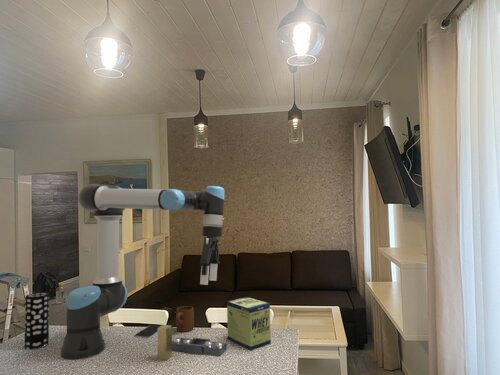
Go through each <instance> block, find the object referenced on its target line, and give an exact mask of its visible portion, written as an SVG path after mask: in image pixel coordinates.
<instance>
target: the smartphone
mask: <svg viewBox="0 0 500 375" xmlns="http://www.w3.org/2000/svg"><path fill="white" fill-rule="evenodd" d="M162 325H163V324H156V323H155V324H154V323H152V324H150V325H148V326H147V327H144V328H143V329H142V330H140V331H137V333H135V334H133V338H139V337H141V339H150V338H152V337H153V336H155V335H156V334H157V335H158V331H157V328H158V327H160V326H162Z"/></svg>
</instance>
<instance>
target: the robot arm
mask: <svg viewBox="0 0 500 375" xmlns="http://www.w3.org/2000/svg"><path fill="white" fill-rule="evenodd" d="M77 200H78V203H79V204H80V207H81V208H82V209H84V210H85V211H87V212H91V213H93V217H94V218H95V219H96V221H97V243H96V244H97V246H96V248H97V249H96V250H97V251H96V252H97V253H96V256H97V257H96V277H95V279H94V280H93V281H92V285H86V286H83V287H78V288H76V289H72V290H71V291H70V292H69V293H68V295H67V298H66V304H65V305H66V334H65V337H64V341H63V345H62V346H61V350H60V357H61V358H63V359H65V360H66V359H67V360H80V359H85V358H91V357H94V356H96V355H98V354H101V353H102V352H103V351H104V350H105V348H106V342H105V341H106V340H105V339H104V337H103V333H102V330H101V317H104V316H106V315H109V314H110V313H114V312H116V311H118V310H119V309H121V308H122V307H123V306H124V305H125V304H126V302H127V300H128V295H129V294H128V288H127V287H126V285H125V284H124V283H123V278H122V277H121V276H120V275H119V272H120V271H119V268H120V267H119V266H120V262H119V260H120V256H119V255H120V219H122V218H123V217H124V211H125V209H128V210H129V209H135V210H139V209H140V210H161V211H162V210H164V211H173V212H174V211H175V212H176V211H202V212H204V213H203V220H202V225H203V227H202V236H203V237H205V238H203V246H202V249H201V250H202V251H201V256H200V261H199V263H198V265H199V266H200V268H201V269H200V280H199V281H200V282H199V285H205V286H206V285H207V286H208V285H209V281H215V282H217V278H218V275H217V274H218V265H220V255H219V254H220V251H219V248H220V247H219V241H220V239H219V238H221V237H222V236H223V227H222V226H223V222H224V221H225V217H224V208H225V189H224V188H223V187H222V186H217V185H216V186H215V185H209V186H206V188H205V191H194V190H193V191H190V190H183V189H177V188H170V189H169V188H167V189H160V188H157V189H156V188H155V189H154V188H122V187H120V186H119V185H118V186H117V185H113V184H112V185H111V184H103V183H101V184H100V183H90V184H87V185H85V186H84V187H82V188H81V190H80V191H79V193H78V199H77ZM210 262H211V263H210ZM209 264H210V265H209Z"/></svg>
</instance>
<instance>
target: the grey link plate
mask: <svg viewBox="0 0 500 375" xmlns="http://www.w3.org/2000/svg"><path fill="white" fill-rule="evenodd" d="M172 339H173V340H172V351H175V352H184V353H185V354H194V355H201V356H202V355H208V356H209V355H211V356H218V357H221V356H223V354H224V353H225V352H226V351H227V350H228V346H227V342H222V341H214V340H213V341H212V340H211V338H203V337H193V338H185V337H184V338H183V337H174V338H172Z"/></svg>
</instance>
